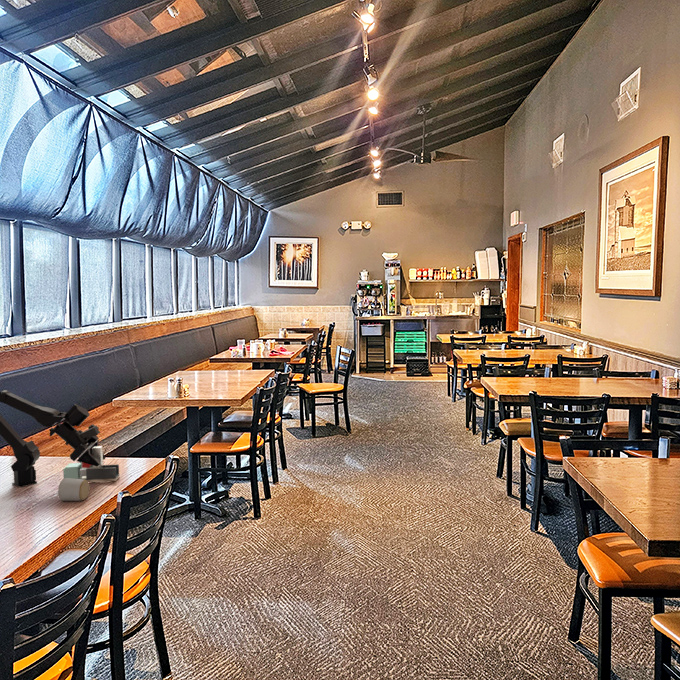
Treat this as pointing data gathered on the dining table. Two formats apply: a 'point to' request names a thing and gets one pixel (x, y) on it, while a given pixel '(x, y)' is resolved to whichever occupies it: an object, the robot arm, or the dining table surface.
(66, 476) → the socket
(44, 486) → the dining table surface
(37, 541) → the dining table surface
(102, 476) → the sleeve
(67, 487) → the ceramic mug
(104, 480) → the base board
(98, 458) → the light grey l-shaped piece
